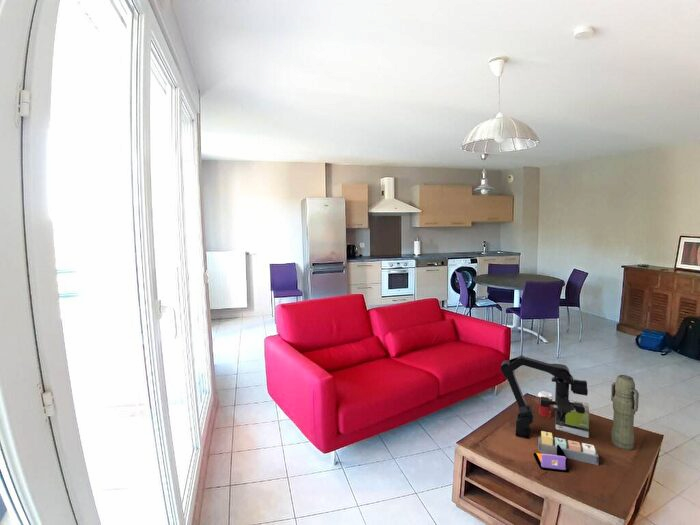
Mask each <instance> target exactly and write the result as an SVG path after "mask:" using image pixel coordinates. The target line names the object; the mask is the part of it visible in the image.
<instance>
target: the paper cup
mask: <svg viewBox="0 0 700 525" xmlns="http://www.w3.org/2000/svg"><path fill="white" fill-rule="evenodd" d="M537 396H538V414H539V416H541V417H543V418H548V419H549V418H551V416H552V409H553V405H550V406H549V407H543V406H541V405H540V397H547V398H549V400H550V401H553V399H554V396H553V393H551V392H548V391H543V390H542V391H539V392H538V394H537Z"/></svg>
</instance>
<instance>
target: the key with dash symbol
mask: <svg viewBox="0 0 700 525" xmlns="http://www.w3.org/2000/svg"><path fill="white" fill-rule="evenodd" d="M567 442H568V449H569V450H574V451H578V452H581V447H580V445H581V444H580V442H579V441H575V440H570V439H568V440H567Z"/></svg>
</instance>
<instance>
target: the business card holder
mask: <svg viewBox="0 0 700 525" xmlns="http://www.w3.org/2000/svg"><path fill="white" fill-rule="evenodd" d="M533 457H534V459H535V461H536V463H537V465H538V467H539V469H540V470H543V471H547V472H548V471H550V472H558V473H565V474H569V473H570V470H569V468H568V466H567V465H568V462H567V461H568V458H567V457H566V455H565V454H564V452H563V450H562V449H561V447H560V446H559V445H557V455H552V454H546V453H542V452H540V453H539V452H534V453H533Z"/></svg>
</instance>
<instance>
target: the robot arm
mask: <svg viewBox="0 0 700 525" xmlns="http://www.w3.org/2000/svg"><path fill="white" fill-rule="evenodd" d="M522 366H524V367H528V368H531V369H535V370H538V371H543V372H545V373H548V374H550V375H552V376H553V377H551V382H554V383H555V388H554V390H555V392H554V394H555V395H554V400H552V401H550V400H549V398H547V397H540V405H541V406H543V407H549V406H550V405H552V409H553V410H554V411H555V412H556V411H557V413H558V416H559V419H560V421H561V422H562V421H563V419H564V417H565V415H566V414H567V413H570V412H571V411H572V410H574V409H575V411H576V412H577V413H583V414H584V413H585V408H584V405H583V404H582V403H583V402H582V403H577V402H578V401H577V402H574V403H572V402H569V400H570V398H569V396H570V391H571V392H572V393H573V394H574V395H580V396H586V397H587V396H588V395H589V394H588V391H589V390H588V382H587V380H581V379H580V380H579V379H576V378H575V379H574V376H572V374H571V373H570V369H569V367H568V366H567V365H566V364H562V363H548V362H545V361H541V360H538V359H534V358H531V357H527V356H524V355H519V356H516V357H514V358H510V359H509V360H508V359H507V360H503V361H502V363H501V366H500V372H501V373H502V375H503V376H504V378H505V379H506V381H508V384H509V386H510V388H511V391H512V394H513V395H514V396H513V397H514V399H515V401H516V403H517V406H518V412H519V413H517V414H516V418H515V437H518V438H522V439H528V440H529V439H530V437H531V431H532V430H531V428H532V427H531V426H530V425H531V424H533V422H534V418H535V410H534V409H533V407H532V404H528V403H527V402H526V399H525V397H524V395H523V393H522V390H521V387H520V385H519V382H518V380H517V377H516V372H515V370H517V369H519V368H520V367H522ZM561 412H562V413H561Z"/></svg>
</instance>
